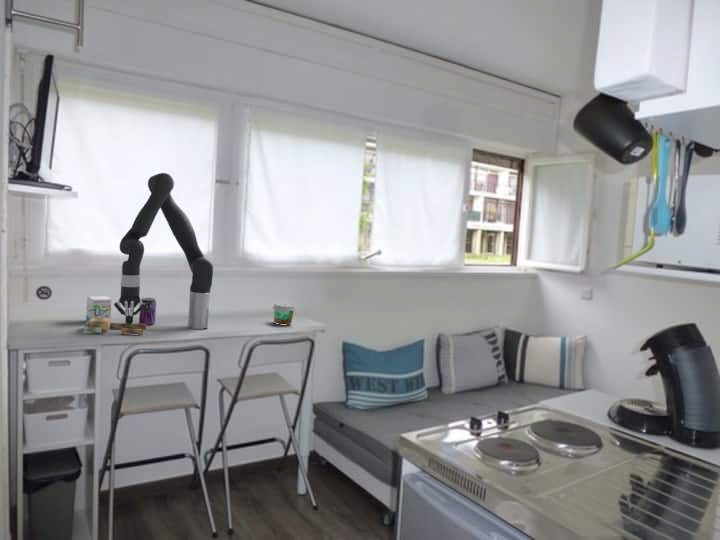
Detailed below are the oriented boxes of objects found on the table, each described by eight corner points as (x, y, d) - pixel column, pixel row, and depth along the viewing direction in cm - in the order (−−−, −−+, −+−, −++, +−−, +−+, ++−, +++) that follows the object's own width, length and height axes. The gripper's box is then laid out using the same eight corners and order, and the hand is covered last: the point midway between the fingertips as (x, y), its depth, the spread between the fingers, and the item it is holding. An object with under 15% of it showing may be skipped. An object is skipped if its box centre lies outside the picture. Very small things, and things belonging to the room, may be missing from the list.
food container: (267, 323, 275) (268, 304, 274) (273, 321, 281) (274, 303, 280) (287, 327, 271) (289, 308, 270) (293, 325, 277) (295, 306, 276)
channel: (146, 329, 238) (146, 320, 238) (142, 335, 227) (143, 326, 226) (90, 327, 232) (90, 318, 232) (83, 333, 220) (84, 324, 220)
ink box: (90, 324, 237) (91, 299, 236) (85, 320, 243) (86, 296, 242) (110, 323, 242) (112, 298, 241) (105, 319, 249) (106, 295, 248)
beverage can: (149, 326, 244) (150, 300, 243) (135, 324, 246) (137, 299, 244) (158, 323, 251) (159, 298, 250) (144, 321, 252) (146, 297, 251)
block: (109, 329, 232) (110, 318, 232) (106, 333, 226) (107, 321, 225) (92, 329, 230) (92, 317, 230) (88, 332, 224) (89, 321, 223)
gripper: (147, 284, 234) (146, 322, 235) (115, 283, 230) (114, 322, 232) (145, 286, 226) (144, 326, 228) (112, 285, 223) (111, 325, 224)
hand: (129, 324), depth 230 cm, fingers closed
